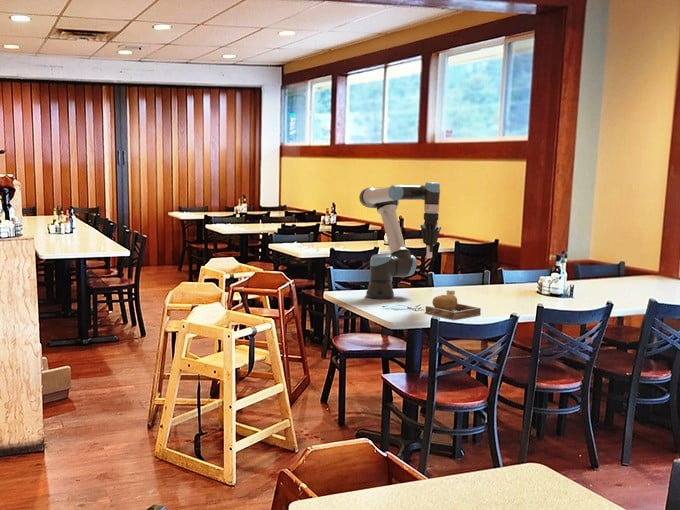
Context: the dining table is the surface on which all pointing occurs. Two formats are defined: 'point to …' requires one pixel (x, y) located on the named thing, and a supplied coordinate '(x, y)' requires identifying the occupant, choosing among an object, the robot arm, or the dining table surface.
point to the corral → (459, 314)
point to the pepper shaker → (450, 292)
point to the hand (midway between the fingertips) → (429, 257)
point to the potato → (445, 302)
